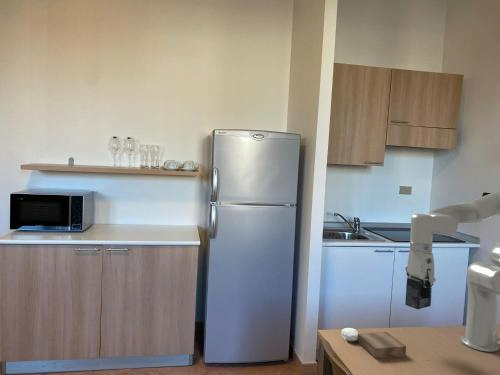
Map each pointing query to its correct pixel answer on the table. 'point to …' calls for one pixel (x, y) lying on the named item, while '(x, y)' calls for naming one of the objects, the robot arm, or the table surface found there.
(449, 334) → the table surface
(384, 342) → the walnut block
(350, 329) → the garlic
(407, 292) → the box
